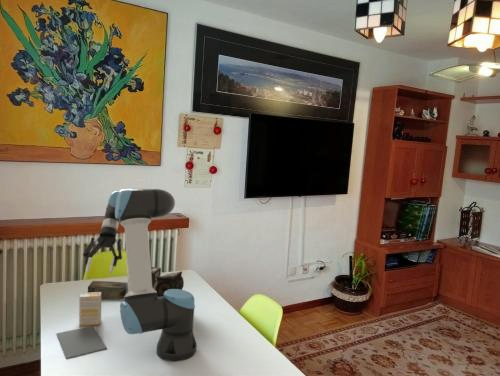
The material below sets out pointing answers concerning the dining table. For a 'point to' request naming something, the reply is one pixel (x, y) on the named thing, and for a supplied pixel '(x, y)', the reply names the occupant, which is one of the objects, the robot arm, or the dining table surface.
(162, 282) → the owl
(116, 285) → the beverage carton
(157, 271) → the coffee box
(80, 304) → the supplement box
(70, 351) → the mat
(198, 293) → the dining table surface
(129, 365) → the dining table surface
